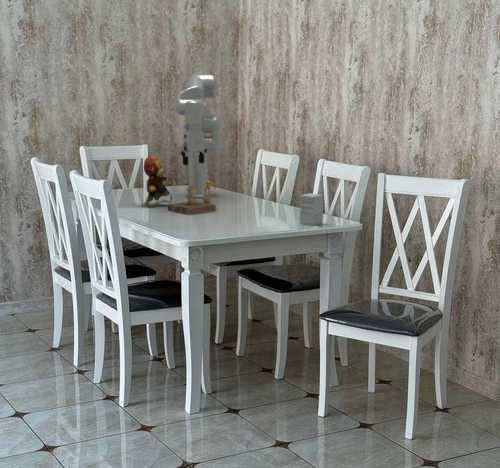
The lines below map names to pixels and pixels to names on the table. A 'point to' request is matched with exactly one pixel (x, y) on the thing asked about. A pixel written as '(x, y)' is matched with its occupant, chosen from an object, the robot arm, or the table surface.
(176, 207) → the socket block
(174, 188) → the table surface
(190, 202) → the peg
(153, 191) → the red green tall figure
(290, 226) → the table surface
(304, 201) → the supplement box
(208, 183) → the figurine
